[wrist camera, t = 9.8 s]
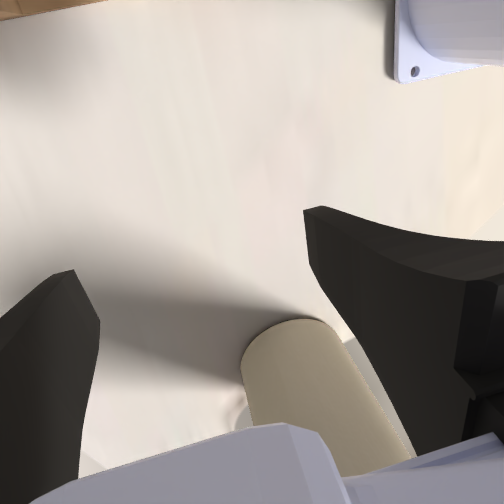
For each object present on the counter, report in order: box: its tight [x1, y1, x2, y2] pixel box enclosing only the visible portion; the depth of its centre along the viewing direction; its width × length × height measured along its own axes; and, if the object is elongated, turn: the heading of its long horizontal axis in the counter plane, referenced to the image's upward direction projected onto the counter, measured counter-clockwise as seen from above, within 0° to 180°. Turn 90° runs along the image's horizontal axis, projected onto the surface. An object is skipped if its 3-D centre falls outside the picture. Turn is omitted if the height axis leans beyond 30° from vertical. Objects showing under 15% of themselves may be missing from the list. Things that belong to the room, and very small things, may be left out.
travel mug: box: [241, 319, 412, 477], centre depth 21 cm, size 8×8×18 cm
